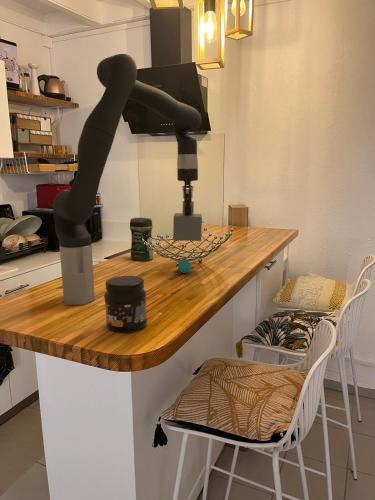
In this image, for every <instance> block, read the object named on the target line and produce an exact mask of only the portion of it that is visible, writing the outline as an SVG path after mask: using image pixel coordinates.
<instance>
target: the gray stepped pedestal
mask: <svg viewBox="0 0 375 500" xmlns="http://www.w3.org/2000/svg"><path fill="white" fill-rule="evenodd" d="M191 203H192V204H191V215H185V204H184V200H183V201H182V212H181V213H180V212H175V213H174V215H173V225H172V226H173V234H172V236H173V237H172V240H173V241H182V242H183V241H184V242H186V241H187V242H188V241H189V242H190V241H191V242H202V231H203V230H202V229H203V228H202V226H203V224H202V223H203V215H202V213H194V207H195V206H194V204H195V202H194V201H191Z"/></svg>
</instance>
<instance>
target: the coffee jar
mask: <svg viewBox="0 0 375 500" xmlns="http://www.w3.org/2000/svg"><path fill="white" fill-rule="evenodd" d="M153 226H154V225H153V220H152V219H151V218H149V217H133V218H131V219H130V221H129V229H130V232H131V243H130V244H131V246H130V259H131V260H133V261H138V262H149V261H152V260H153V258H154V250H153V251H152V250H151V249H150V248H149V247H148V246H146V245H145V244H144V242H143V240H142V238H143V239H144V240H145V241H147V242H148V243H150V244H152V245H153V239H151V238H152V232H153V228H154V227H153ZM142 233H143V234H142ZM144 234H145V235H144ZM146 235H147V236H146ZM149 237H150V238H149Z"/></svg>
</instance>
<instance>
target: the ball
mask: <svg viewBox="0 0 375 500" xmlns="http://www.w3.org/2000/svg"><path fill="white" fill-rule="evenodd" d="M177 268H178V270H179V272H181V273H183V274H186V273H189V272H190V271H191V269H192V263H190V261H189V260H187V259H183V260H180V261H179V262H178V265H177Z"/></svg>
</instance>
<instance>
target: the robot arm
mask: <svg viewBox="0 0 375 500" xmlns="http://www.w3.org/2000/svg"><path fill="white" fill-rule="evenodd" d="M96 76H97V79H98V81H99V83H100V84H101V85H102V86H103V87H104V88H105V90H104V92H103V94H102V96H101V98H100V99H99V101H98V103H97V104H96V105H95V106H94V108H93V109H92V111H91V112H90V113H89V115H88V117H87V118H86V120H85V122H84V124H83V127H82V130H81V132H80V133H81V134H80V136H79V140H78V143H77V168H76V169H77V170H76V175H75V178H74V180H73V183H72V186H71V188H70V189H68V190H67V189H66V190H63V191H60V192H58V193H57V195H56V196H55V198H54V201H53V207H52V209H53V220H54V228H55V234H56V237H57V239H58V244H59V245H58V246H59V255H60V256H59V257H60V259H59V260H60V270H61V272H60V273H61V283H62V284H61V285H62V294H63V302H64V305H65V306H66V305H67V306H71V305H72V306H73V305H77V306H82V305H83V306H85V305H87V304H89V303H91V302H94V300H95V299H96V295H95V294H96V293H95V281H94V280H95V279H94V267H93V266H94V264H93V246H92V235H91V234H90V232H89V231H88V229H87V228H86V224H85V222H87V221H88V220H89V219H90V218H91V217H92V215H93V213H94V209H95V206H96V201H97V196H98V193H99V192H98V191H99V187H100V183H101V178H102V175H103V173H104V170H105V167H106V164H107V160H108V157H109V154H110V152H111V149H112V146H113V143H114V140H115V136H116V132H117V129H118V127H119V124H120V120H121V117H122V115H123V112H124V109H125V105H126V104H127V101H128V99H131V100H133V101H135V102H138V103H139V104H140V105H143V106H145V107H146V108H148V109H149V110H151V111H153V112H155V113H156V114H157V115H159V116H161V117H162V118H164V119H165V120H168V121H172V127H173V132H174V134H175V135H174V136H175V140H176V141H177V160H176V163H177V164H176V167H177V168H176V169H177V170H176V174H177V175H176V176H177V181H179V182H184V185H182V187H181V188H182V190H181V191H182V198H183V201H184V204H185V215H191V204H192V203H191V201H192V199H193V197H194V196H193V193H194V185H192V182H194V181H195V182H196V181H198V179H199V161H198V141H197V139H196V138H194V137H191V136H190V133H189V131H195V130H197V129H198V128H200V126H201V125H202V116H201V113H200V112H199V111H198V110H197V109H196V108H194V107H192V106H191V105H189V104H186V103H183V102H181V101H179V100H176V99H175V98H174V97H172V96H171V95H169V94H168V93H166V92H165V91H163V90H161V89H159V88H156V87H154V86H152V85H149V84H146V83H143V82H142V81H139V80H137V77H138V67H137V64H136V61H135V59H134V58H133V57H132V56H131V55H129V54H127V53H118V54H114V55H112V56H108V57H106V58H104V59H102V60H101V61H100V62H99V63H98V64H97V67H96Z"/></svg>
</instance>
